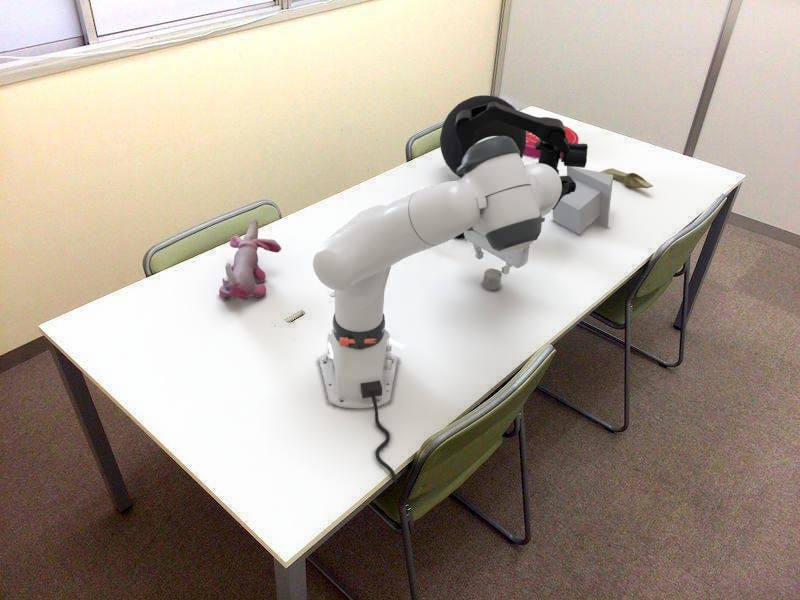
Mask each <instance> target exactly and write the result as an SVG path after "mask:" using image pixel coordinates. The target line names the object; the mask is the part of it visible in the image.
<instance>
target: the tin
mask: <svg viewBox="0 0 800 600" xmlns="http://www.w3.org/2000/svg"><path fill="white" fill-rule="evenodd" d="M502 276H503V273H502V272H501V270H500V269H497V268H488V269H485V271H484V274H483V279H482V287H483V288H484V289H485V290H487V291H491V292H495V291H498V290H500V287H501V282H502Z"/></svg>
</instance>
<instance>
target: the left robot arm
mask: <svg viewBox="0 0 800 600" xmlns="http://www.w3.org/2000/svg"><path fill="white" fill-rule="evenodd" d="M519 154H520V151H519V149H518V147H517V145H516V143H515V142H514V141H513V139H512V138H509V137H507V136H492V137H487V138H484V139H482V140H480V141H479V142H477V143H476V144H475V145H473V146H472V147H470V148H469V149H468V151H467V152H466V154H465V155H464V157H463V160H462V164H461V166H460V167H458V168H457V174H463V173H464V174H463V177H462V178H459V179H456V180H450V181H445V182H441V183H437V184H433V185H431V186H428V187H424V188H422V189H419V190H418V191H415V192H413V193H410V194H409V195H406V196H404V197H402V198H400V199H398V200H395V201H393V202H391V203H389V204H386V205H381V204H379V205H375V206H372V207H370V208H366V209H365V210H363V211H360V212H359V213H358V214H357V215H355V216H354V217H353V218H351V219H350V220H349V221H348V222H347V223H345V224H344V225H343V226H342V227H340V228H339V229H338V230H337V231H336V232H334V233H333V234H332V235H330V236H329V237H327V239H326V240H325V241H324V242H323V243H322V244H321V245H320V247H319V249H318V250H317V252H316V253H315V254H314V257H313V260H312V267H313V271H314V273H315V276H316V277H317V279H318V280H319V281H320V282H321V284H323V285H324V287H327V288H329V289H331V290H333V291H334V313H333V317H332V329H331V330H330V331H329V332H328V333H327V334H326V335H327V339H326V340H327V345H326V346H327V350H326V351H327V353H325V354H323V355H321V356H320V357H319V366H320V370H321V374H322V378H323V382H324V387H325V390H326V391H325V392H326V394H327V400H328V402H329V404H332V405H334V406H337V407H340V408H345V409H371V408H373V410H374V422H375V424H376V427H377V428H378V429H379V430H380V431H381V432H383V433H384V434H385V436H386V437H385V440H384V441H383V442H382V443H381V444H380V445H379V446H378V447H376V450H375V459H376V461H377V462H378V463H379V464H380V465H381V466H383V467H384V468H385V469H386V470H387V471H388V472H389V473H390V475H391V478H392V480H393V483H398V478H397V475H396V472H395V471H394V469H393V468H392V467H391V466H390V464H388V463H386V461H384V460H383V459H382V458H381V455H380V451H382V449H383V448H384V447H386V445H388V443H389V442H390V439H391V434H390V432H389V431H388V430H387V429H386V428H384V427H383V425H382V424H381V423H380V419H379V408H378V407H381V406H383V405H387V404H388V403H389V402H390V401H391V396H392V391H393V386H394V382H395V381H394V380H395V376H396V370H397V364H398V357H397V356H396V355H395V354H393V353H391V352H392V345H394V346H396V347H399V348H400V349H403V347H404V345H403V344H401V343H399V342H397V341H396V340H393V339H392V338H391V334H390V332H389V331H387V330H386V318H385V313H384V306H385V304H384V303H385V291H386V287H387V282H388V278H389V276H390V272H391V269H392V266H393V265H395V264H397V263H398V262H401V261H402V260H405V259H406V258H408V257H410V256H413V255H415V254H418V253H420V252H424V251H425V250H429V249H431V248H434V247H437V246H439V245H441V244H444V243H446V242H449V241H451V240H453V239H456V238H455V237H456V236H458V235H460V234H462V233H463V232H464V236H465V238H464V239H466V240H467V241H468V242H470V243H472V244H473V249H474V252H475V258H476V259H478V260H482V259H483V258H484V255H485V252H484V251H486V252H488V254H491V255H493V256H495V257H496V258H498V259H500V260H501V261H503V262H505V265H504V266H502V267H501V270H500V272H501V273H502V275H505V276H506V275H508V274H509V273H510V271H511V268H512V267H513V268H516V269H519V268H522V267H524V266H525V265H527V263H528V260H529V250H530V245H532V244H533V243H534V242H535V241H537V240H538V238H539V236H540V235H541V233H542V225H543V223H544V222H545V221H546V218H545V216H546V215H548V214H550V213H551V211H553V210H552V209H553V208H554V207H555V205H556V204H557V202H558V200H559V198H560V195H561V191H562V182H561V179H560V176H561V175H558V173H557V172H556V171H555V170H554V169H553V168H552V167H550V166H548V165H546V164H541V163H538V162H535V163H531V164H527V165H525V163H524V161H523V158H522V159H521V157H520V155H519ZM482 250H484V251H482ZM390 344H392V345H390Z"/></svg>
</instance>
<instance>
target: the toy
mask: <svg viewBox="0 0 800 600" xmlns="http://www.w3.org/2000/svg"><path fill="white" fill-rule="evenodd" d="M229 241H230V242H229V247H231V248H233V249H237V251H236V252H235V255H234V256H233V257H234V258H233V265H231V264H230V263H229V262H227V263H226V264H225V266H224V267H225V274H226V276H227V280H226V279H225V278H224V277H222V285H221V286H220V287H219V290H218V291H219V293H218V295H219V297H221V298H223V299H225V300H227V299H228V298H231V297H232V298H235V299H240V300H243V301H244V300H246V299H248V298H249V297H253V298H256V297H257V298H262V297H264V296H265V295H266V293H267V287H266V285H265V284H263V283H264V281H265V280H266V273H265V271H264V270H263V269H261V267H260V266H259V256H258V250H259V249H258V248H261V249H263V250H265V251H268V252H271V253H280V252H281V251H282V247H281V245H280V244H279V243H278V242H277V240H275V239H272V238H259V221H258V220H257V219H256V218H252V219H251V220H250V221H249V224H248V228H247V230H246V233H245V234H244V237H243V239H242V238H241V237H240V236H239V235H233V236H232V237H230V240H229ZM255 281H256V282H258V283H259V284H257V285H256V282H255Z"/></svg>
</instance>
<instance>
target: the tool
mask: <svg viewBox="0 0 800 600" xmlns="http://www.w3.org/2000/svg"><path fill="white" fill-rule="evenodd" d="M601 173H606V174H611V175H613V180H614V179H615V180H617V181H620V182H623V183H625V184H626V187H628V188H630V189H650V188H653V187H654V185H653V184H652V183H650V182H649V181H647V180H646V179H645V178H643V177H642V176H641V175H639V174H638V173H635V172H629V173H626V172H624V171H621V170H618V169H616V168H612V167H611V168H607V169H604V170H602V171H601Z"/></svg>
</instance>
